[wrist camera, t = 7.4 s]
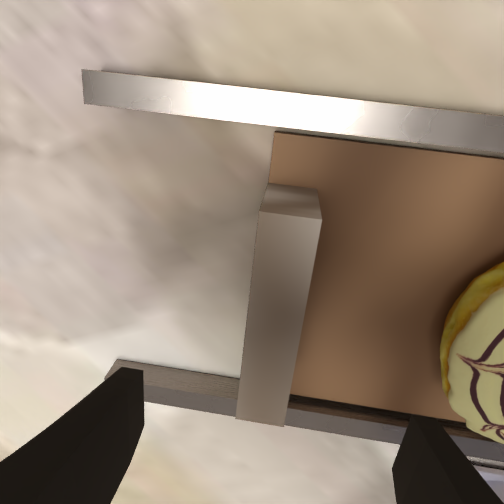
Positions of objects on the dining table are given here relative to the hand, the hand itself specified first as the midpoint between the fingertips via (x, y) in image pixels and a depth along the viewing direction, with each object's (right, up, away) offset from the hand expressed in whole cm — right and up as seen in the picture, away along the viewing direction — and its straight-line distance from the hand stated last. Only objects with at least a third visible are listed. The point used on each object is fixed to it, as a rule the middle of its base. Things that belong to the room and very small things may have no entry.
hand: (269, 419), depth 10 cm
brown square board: (+9, +2, +7) cm, 12 cm away
